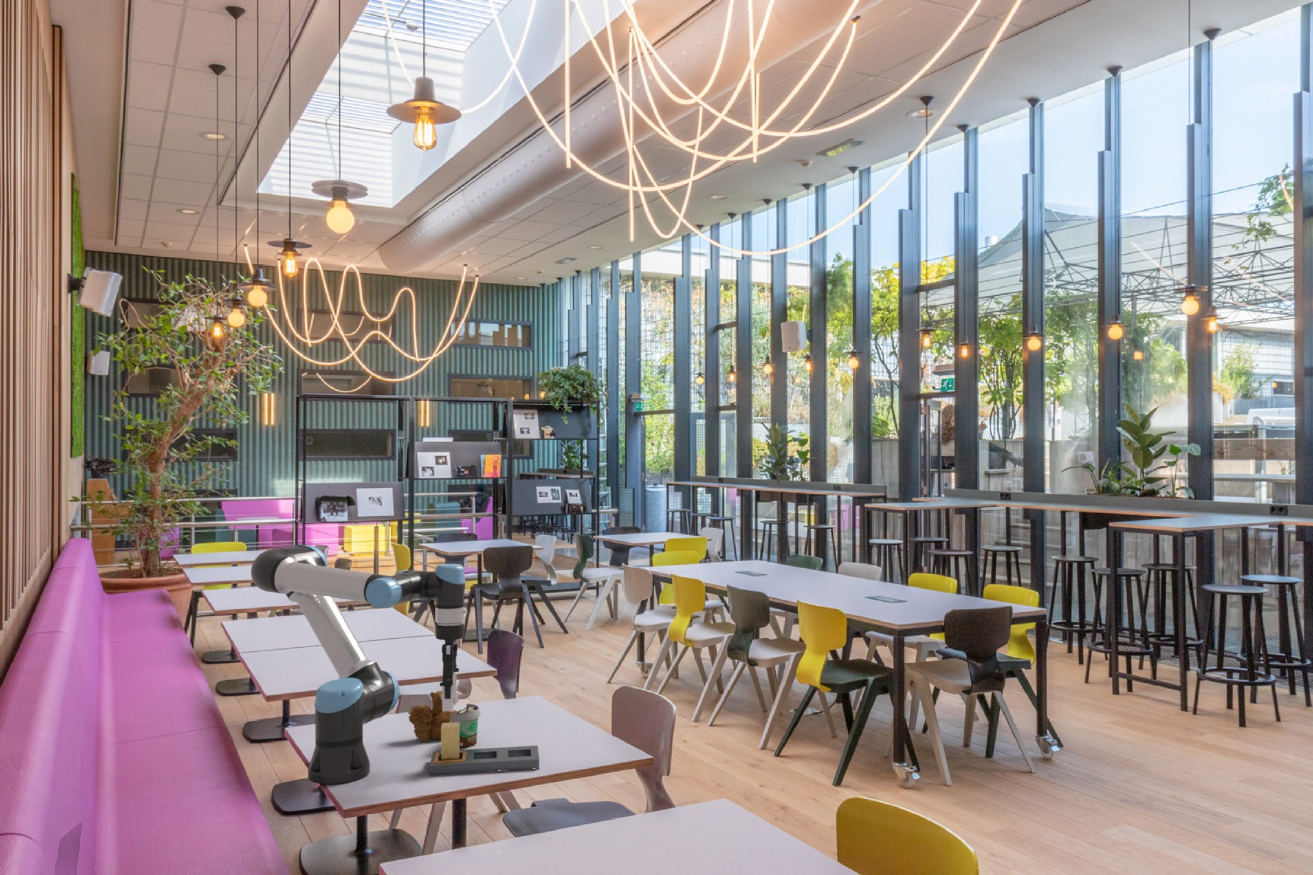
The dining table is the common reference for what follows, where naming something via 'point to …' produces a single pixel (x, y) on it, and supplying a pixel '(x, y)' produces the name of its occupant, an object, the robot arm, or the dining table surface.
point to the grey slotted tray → (486, 760)
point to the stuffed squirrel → (430, 718)
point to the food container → (467, 724)
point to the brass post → (450, 741)
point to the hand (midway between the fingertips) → (449, 703)
